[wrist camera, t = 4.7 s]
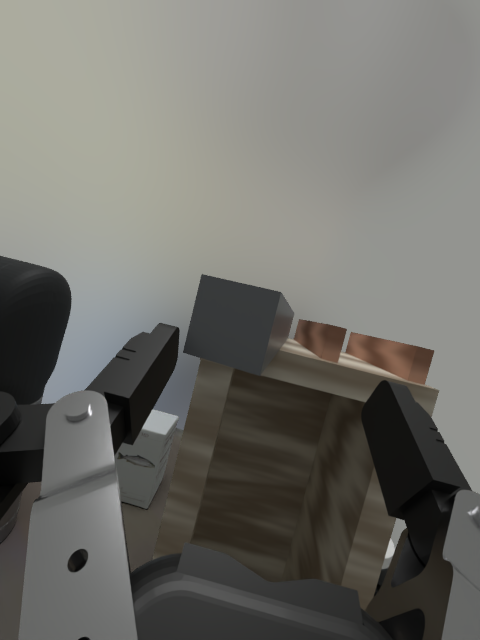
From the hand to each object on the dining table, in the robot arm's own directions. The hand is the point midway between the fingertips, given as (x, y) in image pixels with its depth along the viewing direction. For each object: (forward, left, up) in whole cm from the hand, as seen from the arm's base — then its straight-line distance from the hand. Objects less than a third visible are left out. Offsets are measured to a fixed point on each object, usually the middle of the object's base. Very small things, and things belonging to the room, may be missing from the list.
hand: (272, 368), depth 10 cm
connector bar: (+2, +9, 0) cm, 9 cm away
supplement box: (-5, +34, -32) cm, 47 cm away
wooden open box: (+7, +12, -32) cm, 35 cm away
